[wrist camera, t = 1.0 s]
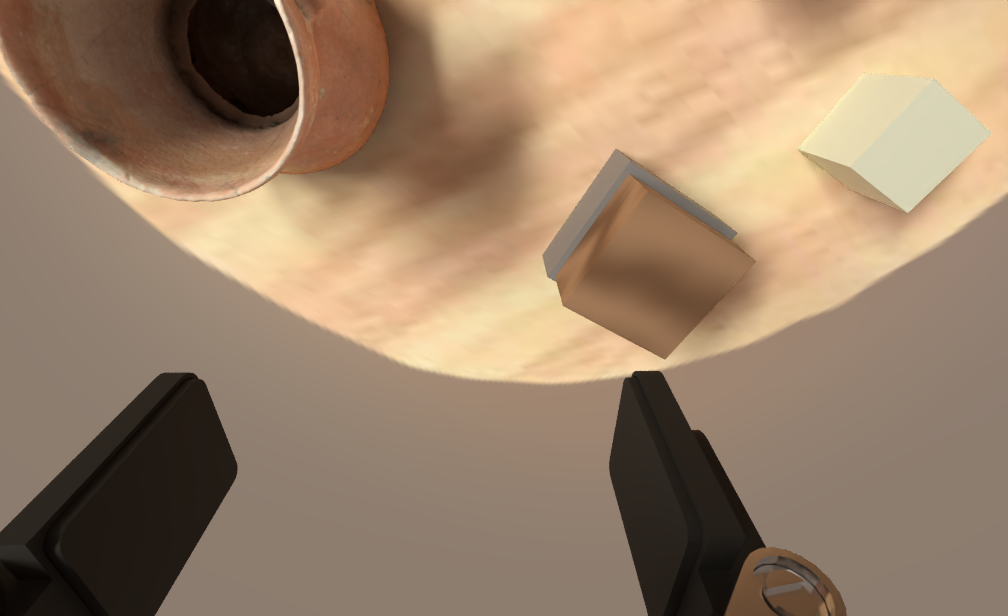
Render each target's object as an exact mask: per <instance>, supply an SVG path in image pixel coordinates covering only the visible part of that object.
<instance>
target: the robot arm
mask: <svg viewBox="0 0 1008 616" xmlns="http://www.w3.org/2000/svg"><path fill="white" fill-rule="evenodd" d="M609 469H610V476H611V480H612V484H613V488H614V491H615V495H616V499H617V502H618V506H619V510H620V513H621V517H622V520H623V524H624V528H625V532H626V535H627V539H628V543H629V546H630V550H631V554H632V557H633V561H634V565H635V568H636V572H637V576H638V580H639V583H640V587H641V591H642V594H643V598H644V601H645V605H646V609H647V613H648V616H847V615H846V607H845V604H844V602H843V599H842V597H841V594H840V592H839V591H838V590H837V588H836V587H835V585H834V584H833V583H832V581H831V580H830V578H828V577H827V576H826V575H825V574H824V573H823V572H822V571H821V570H820V569H819V568H818V567H817V566H816V565H814V564H813V563H811V562H810V561H808V560H807V559H805V558H804V557H802V556H800V555H798V554H795V553H793V552H791V551H788V550H786V549H780V548H775V547H767V548H766V546H765V545H764V543H763V541H762V539H761V537H760V535H759V534H758V532H757V530H756V528H755V526H754V524H753V522H752V521H751V519H750V517H749V515H748V513H747V511H746V510H745V508H744V506H743V504H742V502H741V500H740V499H739V497H738V495H737V493H736V491H735V489H734V487H733V486H732V484H731V482H730V480H729V478H728V476H727V475H726V473H725V471H724V469H723V467H722V465H721V463H720V462H719V460H718V458H717V456H716V454H715V452H714V450H713V449H712V447H711V445H710V443H709V441H708V439H707V438H706V436H705V435H704V434H703V433H702V432H701V431H700V430H691V428H690V426H689V424H688V422H687V420H686V419H685V417H684V415H683V413H682V411H681V409H680V407H679V405H678V403H677V401H676V399H675V397H674V396H673V394H672V392H671V389H670V387H669V385H668V384H667V381H666V380H665V378H664V376H663V374H662V373H661V372H660V371H635V372H633V374H632V377H631V378H625V379H624V382H623V389H622V393H621V399H620V405H619V411H618V416H617V421H616V427H615V433H614V439H613V444H612V449H611V456H610V462H609ZM236 475H237V462H236V460H235V457H234V455H233V452H232V450H231V447H230V444H229V442H228V439H227V437H226V434H225V432H224V429H223V427H222V424H221V422H220V419H219V417H218V414H217V411H216V409H215V407H214V404H213V401H212V399H211V396H210V394H209V392H208V389H207V386H206V384H205V382H204V381H203V380H201V379H198V377H197V376H196V375H195V374H194V373H162V374H160V375H159V376H158V377H156V378H155V379H154V380H153V381H152V382H151V383H150V384H149V385H148V386H147V387H146V388H145V389H144V390H143V391H142V392H141V393H140V394H139V395H138V396H137V397H136V398H135V399H134V400H133V401H132V402H131V403H130V404H129V405H128V406H127V407H126V408H125V409H124V410H123V411H122V412H121V413H120V414H119V415H118V416H117V417H116V418H115V419H114V420H113V421H112V422H111V423H110V424H109V425H108V426H107V427H106V428H105V429H104V430H103V431H102V432H101V433H100V434H99V435H98V436H97V437H96V438H95V439H94V440H93V441H92V442H91V443H90V444H89V445H88V446H87V447H86V448H85V449H84V450H83V451H82V452H81V453H80V454H79V455H78V456H77V457H76V458H75V459H73V460H72V462H70V464H69V465H67V466H66V467H65V468H64V469H63V471H61V472H60V474H58V476H56V477H55V478H54V479H53V480H52V481H51V482H50V483H49V485H47V486H46V487H45V488H44V489H43V490H42V491H41V492H40V493H39V494H38V495H37V496H36V497H35V498H34V499H33V500H32V501H31V502H30V503H29V504H28V505H27V506H26V507H25V508H24V509H23V510H22V511H21V512H20V513H19V514H18V515H17V516H16V517H15V518H14V519H13V520H12V521H11V522H10V523H9V524H8V525H7V526H6V527H5V528H4V529H3V530H2V531H1V532H0V616H155V614H156V613H157V611H158V609H159V608H160V606H161V604H162V602H163V600H164V599H165V597H166V596H167V594H168V592H169V591H170V589H171V587H172V585H173V584H174V582H175V580H176V579H177V577H178V575H179V574H180V572H181V570H182V569H183V567H184V565H185V563H186V561H187V560H188V558H189V557H190V555H191V553H192V551H193V550H194V548H195V547H196V545H197V543H198V541H199V540H200V538H201V536H202V535H203V533H204V531H205V530H206V528H207V526H208V524H209V523H210V521H211V519H212V518H213V516H214V514H215V513H216V511H217V509H218V508H219V506H220V504H221V503H222V501H223V499H224V497H225V496H226V494H227V492H228V491H229V489H230V487H231V486H232V484H233V482H234V480H235V478H236Z"/></svg>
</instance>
